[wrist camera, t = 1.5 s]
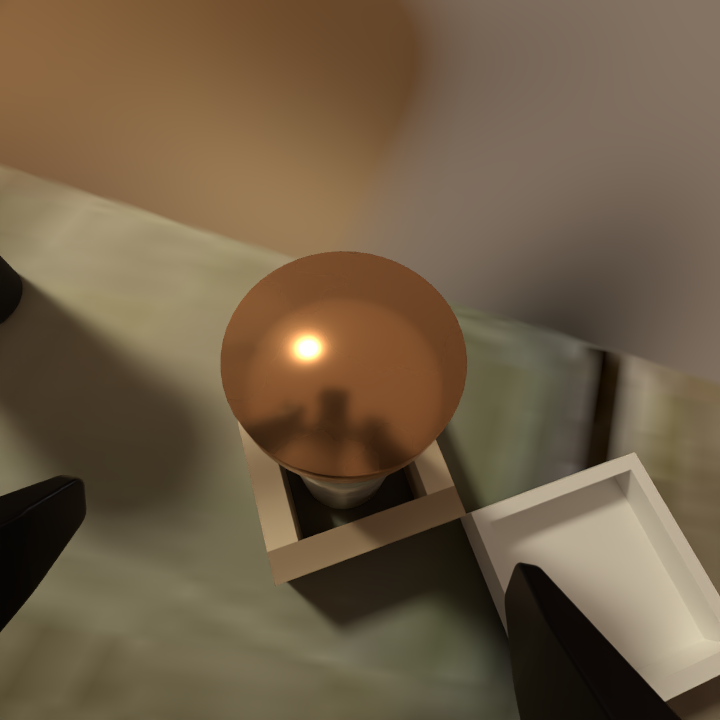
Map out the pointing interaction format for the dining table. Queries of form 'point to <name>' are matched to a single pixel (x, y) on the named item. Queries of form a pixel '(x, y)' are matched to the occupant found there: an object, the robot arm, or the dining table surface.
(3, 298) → the drinking cup
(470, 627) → the dining table surface
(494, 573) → the tray
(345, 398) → the copper-capped peg
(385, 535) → the socket block
